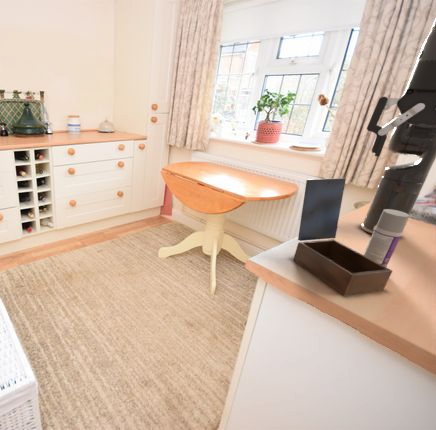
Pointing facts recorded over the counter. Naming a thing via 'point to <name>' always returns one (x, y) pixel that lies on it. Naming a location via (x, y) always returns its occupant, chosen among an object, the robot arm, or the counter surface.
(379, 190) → the robot arm
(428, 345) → the counter surface
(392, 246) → the container
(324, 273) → the case
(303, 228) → the cover
